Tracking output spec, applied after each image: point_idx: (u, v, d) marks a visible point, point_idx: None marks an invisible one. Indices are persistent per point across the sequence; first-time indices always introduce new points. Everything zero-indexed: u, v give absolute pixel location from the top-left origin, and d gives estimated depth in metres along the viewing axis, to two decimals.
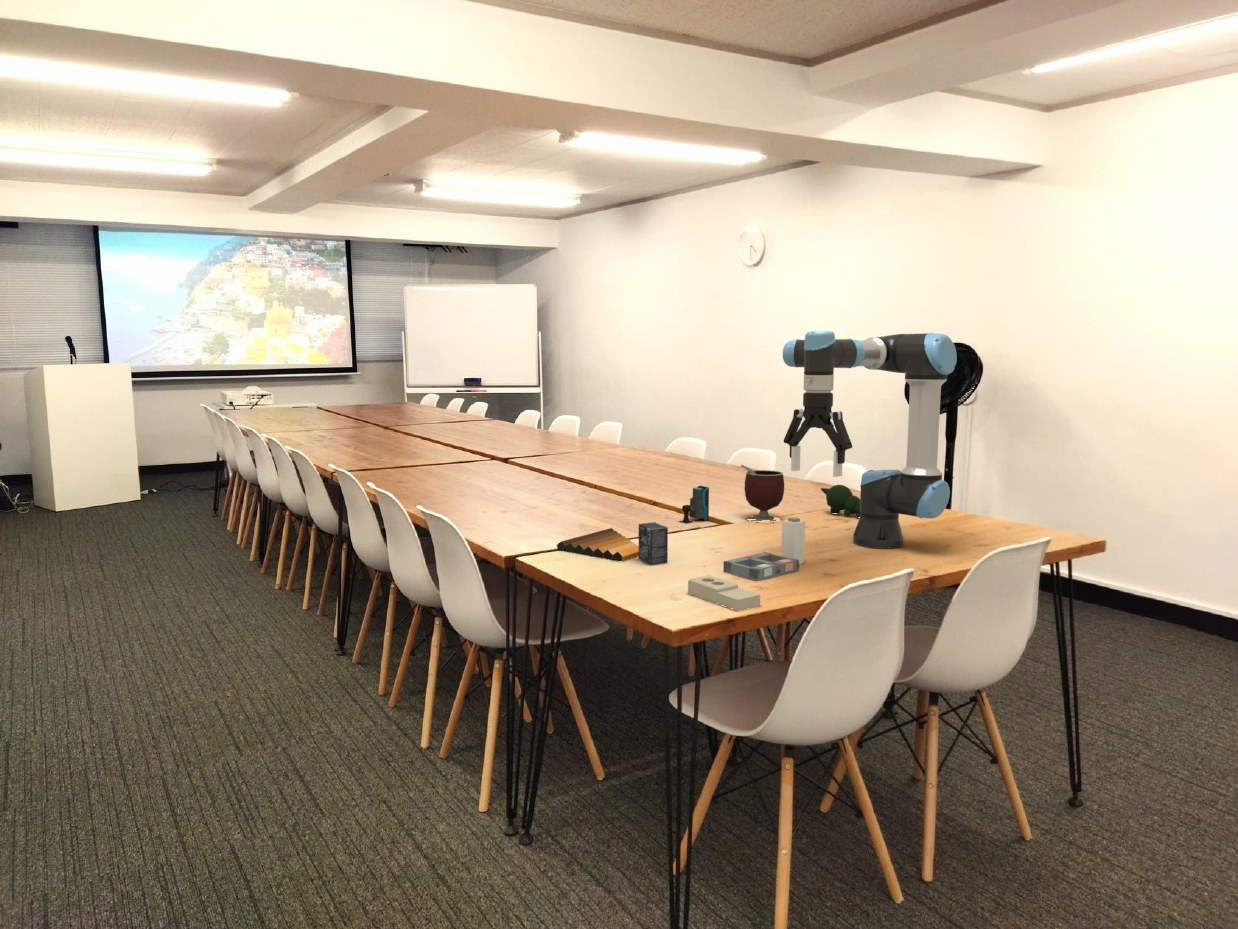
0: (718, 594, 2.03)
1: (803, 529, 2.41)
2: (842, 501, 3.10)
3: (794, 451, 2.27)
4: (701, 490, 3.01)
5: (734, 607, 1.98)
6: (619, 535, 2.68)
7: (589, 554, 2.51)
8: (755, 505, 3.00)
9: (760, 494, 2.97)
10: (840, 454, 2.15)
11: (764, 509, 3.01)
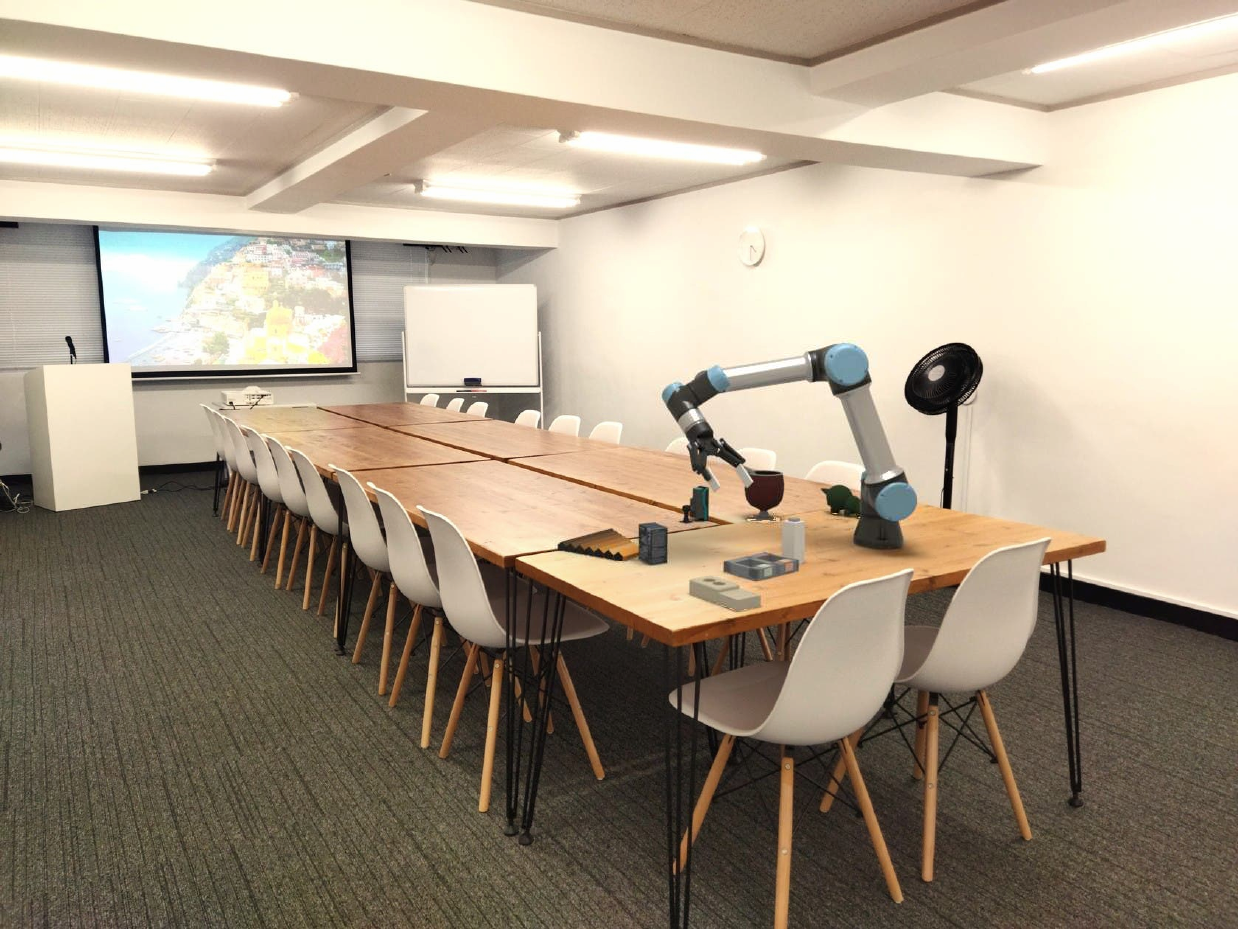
0: (719, 594, 2.02)
1: (803, 529, 2.41)
2: (842, 501, 3.10)
3: (737, 472, 2.45)
4: (701, 490, 3.01)
5: (734, 607, 1.98)
6: (619, 535, 2.68)
7: (590, 554, 2.51)
8: (755, 505, 3.00)
9: (760, 494, 2.97)
10: None
11: (764, 509, 3.01)
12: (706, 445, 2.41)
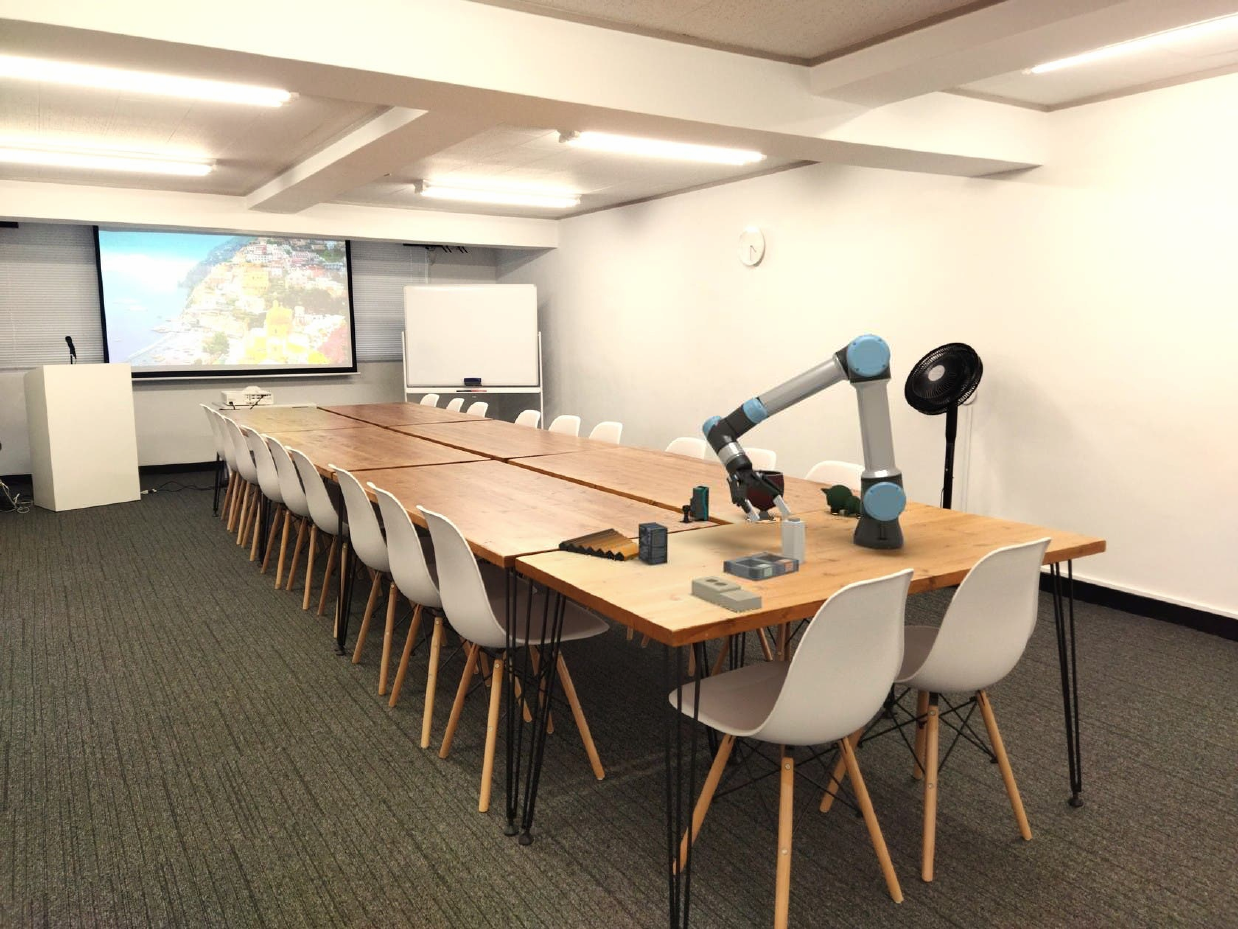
0: (719, 595, 2.02)
1: (803, 529, 2.41)
2: (842, 501, 3.10)
3: (775, 503, 2.54)
4: (701, 490, 3.01)
5: (734, 608, 1.97)
6: (620, 535, 2.68)
7: (591, 554, 2.51)
8: (755, 505, 3.00)
9: (760, 494, 2.97)
10: None
11: (764, 509, 3.01)
12: (745, 478, 2.50)
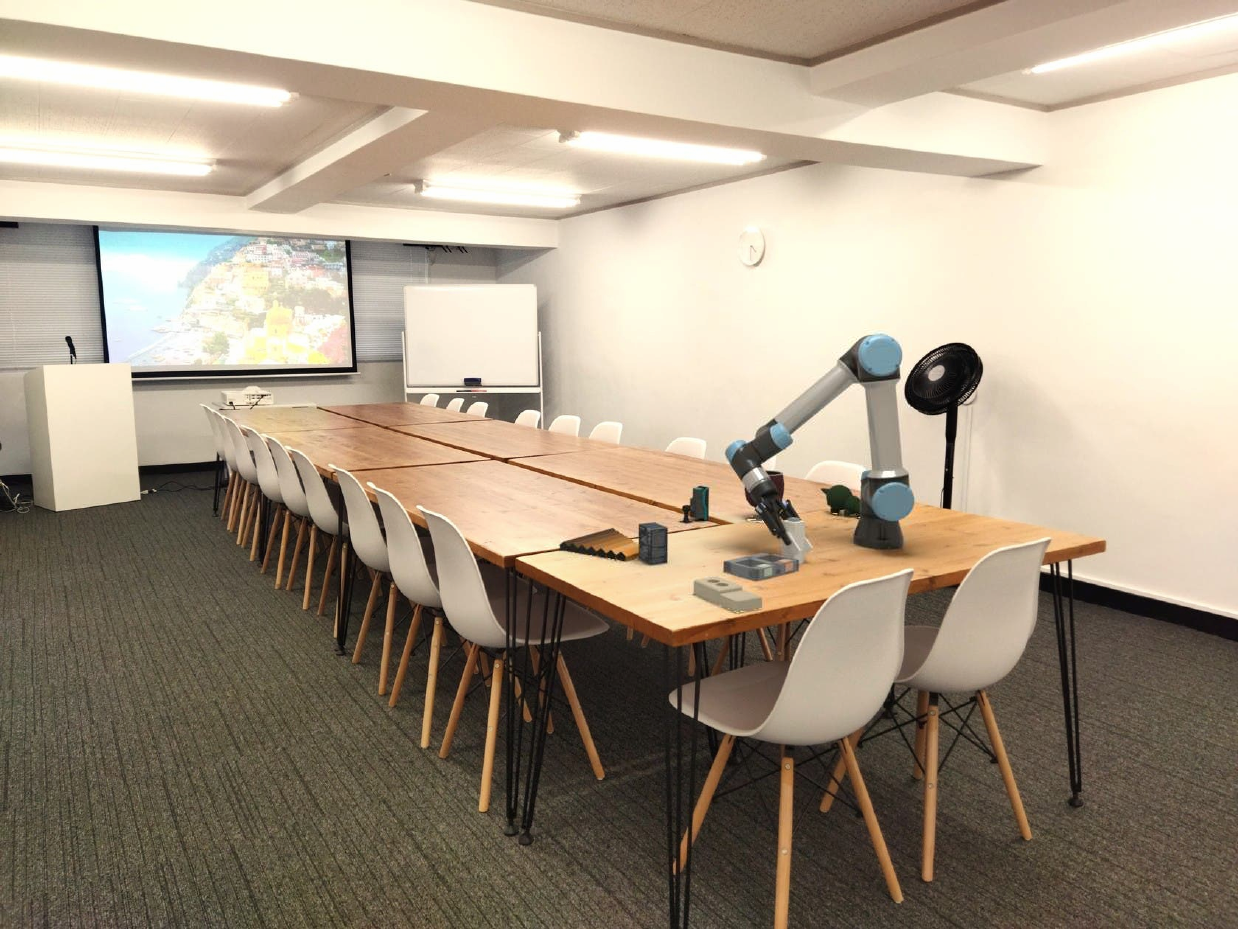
0: (720, 595, 2.01)
1: (803, 529, 2.41)
2: (842, 501, 3.10)
3: None
4: (701, 490, 3.01)
5: (734, 609, 1.97)
6: (621, 535, 2.68)
7: (592, 554, 2.51)
8: (755, 505, 3.00)
9: None
10: None
11: None
12: (773, 505, 2.45)
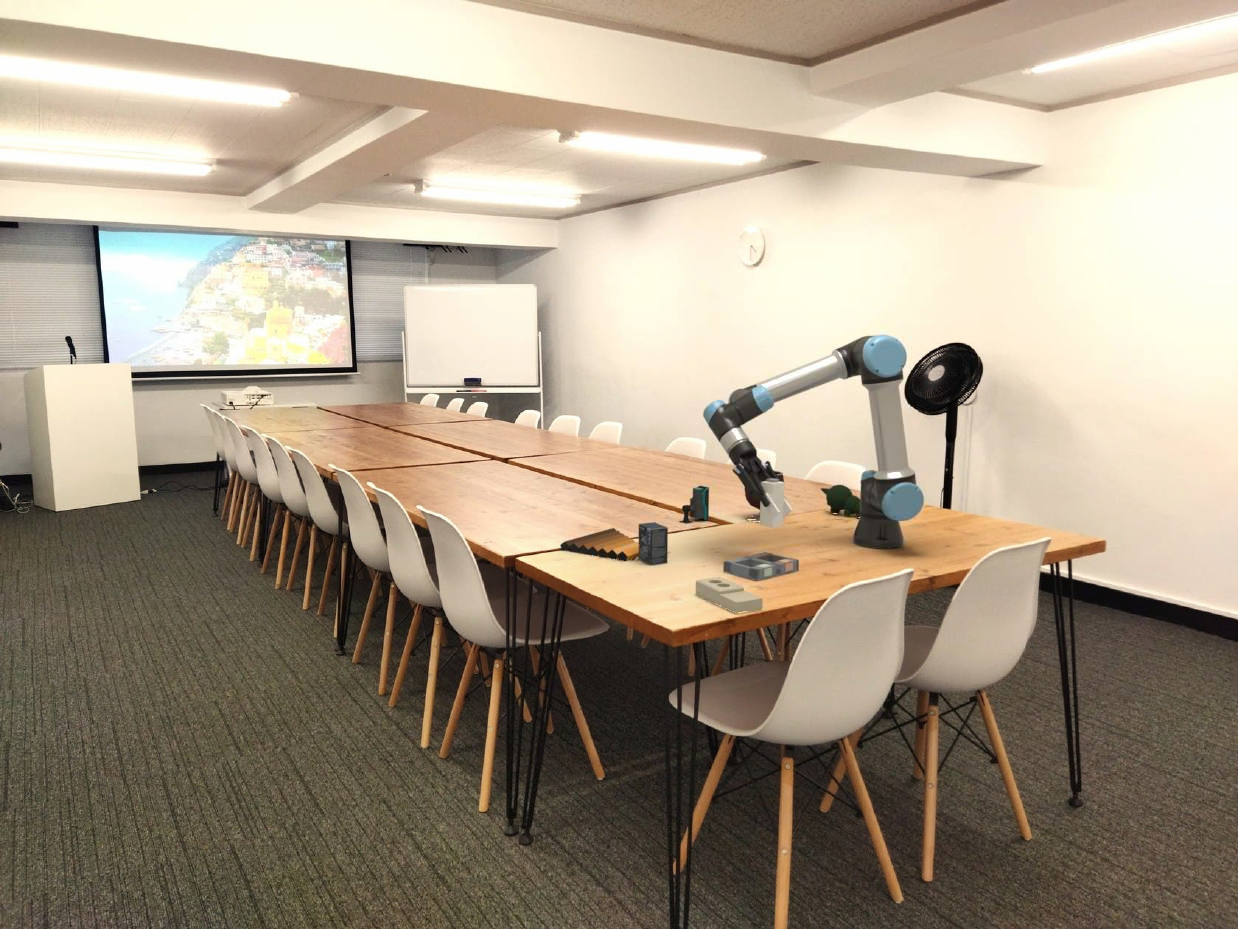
0: (720, 596, 2.01)
1: (782, 490, 2.32)
2: (842, 501, 3.10)
3: None
4: (701, 490, 3.01)
5: (733, 610, 1.96)
6: (622, 535, 2.68)
7: (593, 554, 2.51)
8: (755, 505, 3.00)
9: None
10: None
11: None
12: (752, 466, 2.36)
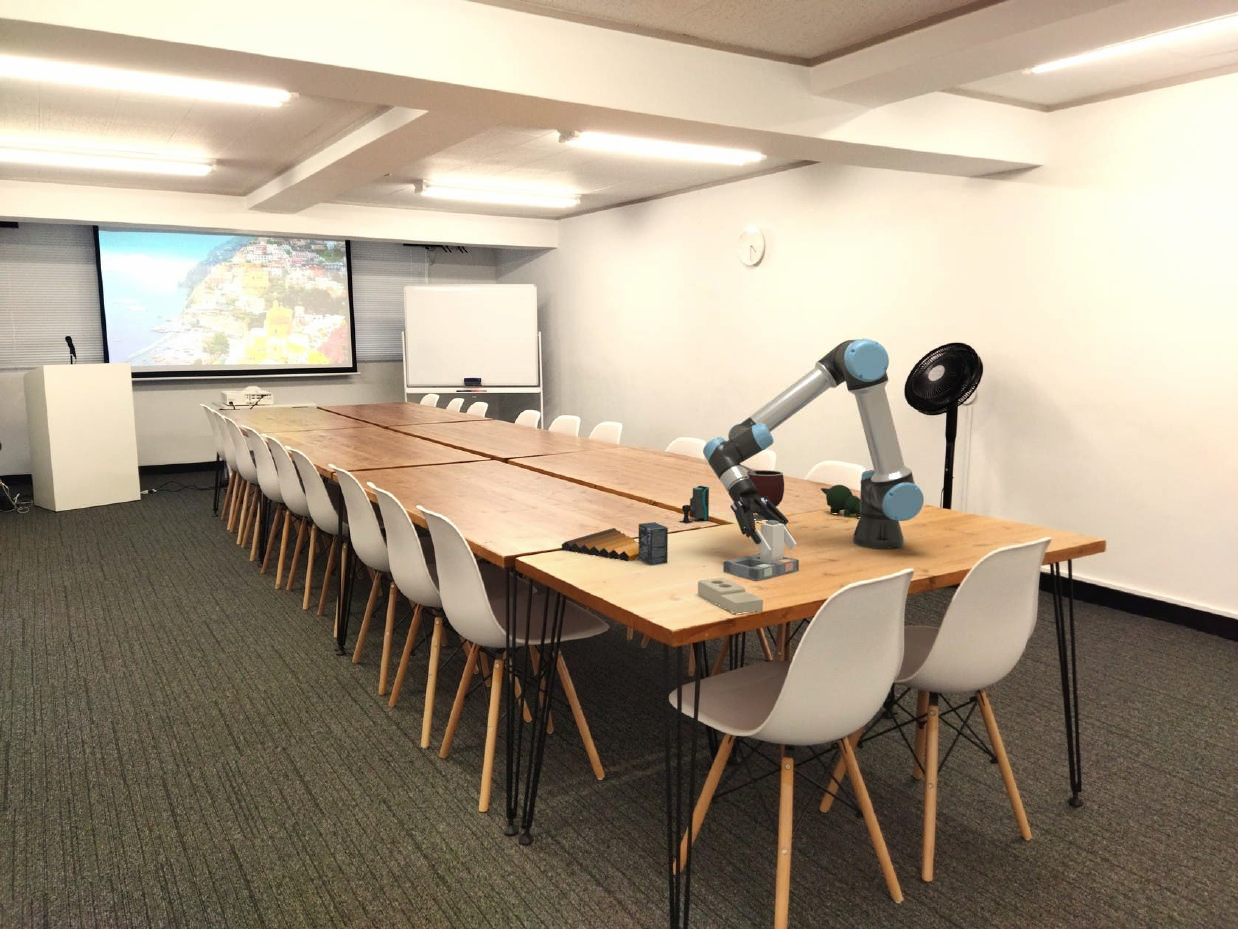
0: (721, 596, 2.00)
1: (782, 532, 2.34)
2: (842, 501, 3.10)
3: None
4: (701, 490, 3.01)
5: (733, 610, 1.96)
6: (623, 535, 2.68)
7: (595, 554, 2.51)
8: None
9: (760, 494, 2.97)
10: None
11: None
12: (750, 504, 2.37)
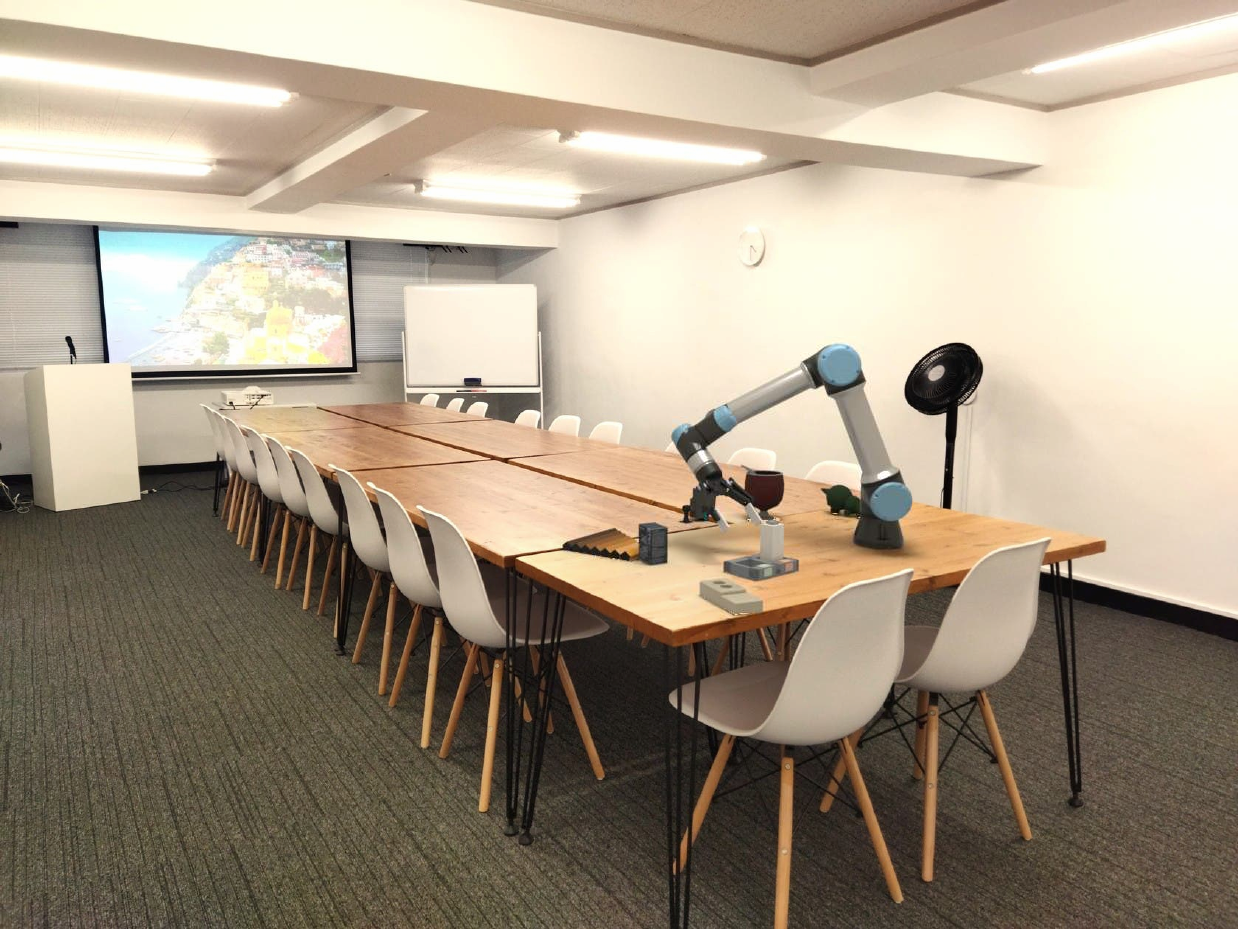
0: (721, 597, 2.00)
1: (782, 532, 2.34)
2: (842, 501, 3.10)
3: (746, 511, 2.50)
4: None
5: (732, 611, 1.95)
6: (623, 535, 2.68)
7: (596, 554, 2.51)
8: (755, 505, 3.00)
9: (760, 494, 2.97)
10: None
11: (764, 509, 3.01)
12: (715, 486, 2.47)
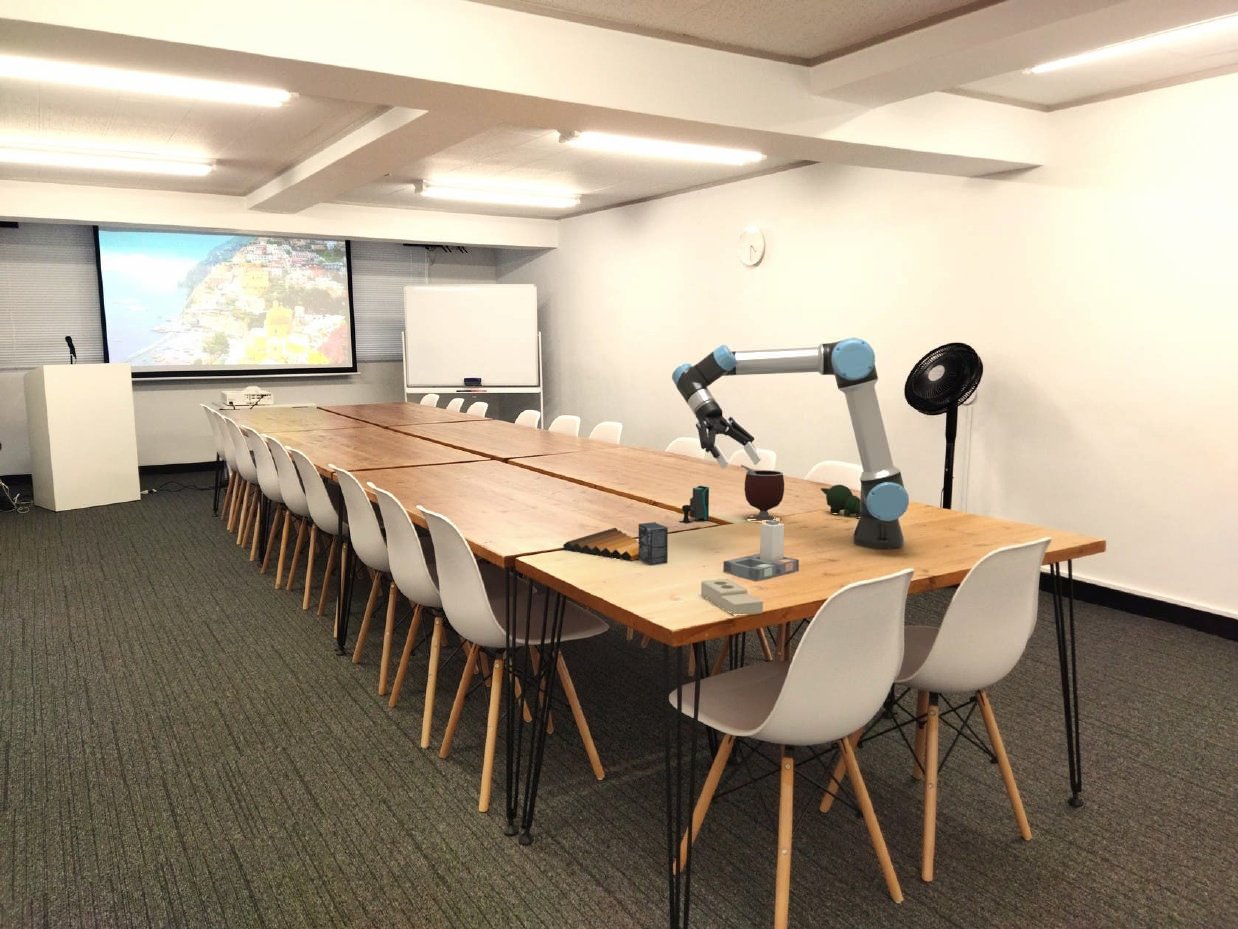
0: (721, 597, 2.00)
1: (782, 532, 2.34)
2: (842, 501, 3.10)
3: (746, 450, 2.51)
4: (701, 490, 3.01)
5: (732, 612, 1.95)
6: (624, 535, 2.68)
7: (597, 554, 2.51)
8: (755, 505, 3.00)
9: (760, 494, 2.97)
10: None
11: (764, 509, 3.01)
12: (715, 424, 2.48)
